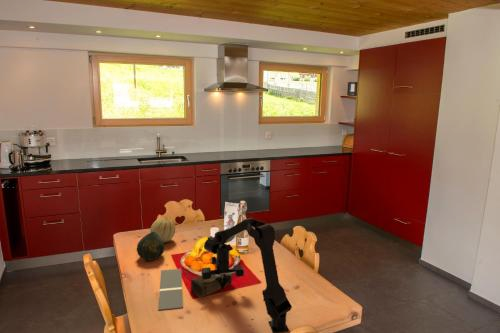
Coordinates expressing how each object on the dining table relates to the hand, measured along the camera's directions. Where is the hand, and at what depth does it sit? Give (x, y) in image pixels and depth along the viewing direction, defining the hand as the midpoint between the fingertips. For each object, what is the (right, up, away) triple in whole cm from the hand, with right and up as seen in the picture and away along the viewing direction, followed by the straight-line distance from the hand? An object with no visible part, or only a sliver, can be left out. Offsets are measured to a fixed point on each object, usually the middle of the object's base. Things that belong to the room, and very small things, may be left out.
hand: (222, 289), depth 155 cm
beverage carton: (-5, -1, +4) cm, 7 cm away
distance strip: (-24, 0, +3) cm, 24 cm away
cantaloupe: (-41, +9, +55) cm, 69 cm away
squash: (-42, +5, +33) cm, 54 cm away
